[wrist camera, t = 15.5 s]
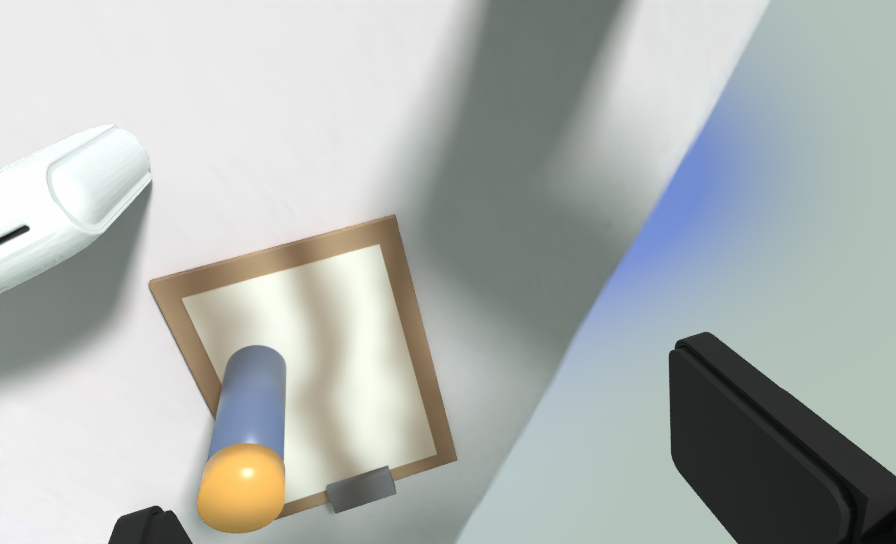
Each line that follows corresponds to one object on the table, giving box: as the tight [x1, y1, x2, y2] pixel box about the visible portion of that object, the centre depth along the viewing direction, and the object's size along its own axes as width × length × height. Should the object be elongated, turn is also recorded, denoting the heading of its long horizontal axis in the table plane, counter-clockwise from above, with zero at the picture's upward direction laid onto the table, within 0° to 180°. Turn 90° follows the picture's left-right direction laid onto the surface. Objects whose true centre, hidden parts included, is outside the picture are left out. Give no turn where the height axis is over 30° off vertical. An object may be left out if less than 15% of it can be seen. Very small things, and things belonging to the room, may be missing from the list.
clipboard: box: [148, 215, 457, 520], centre depth 41 cm, size 16×22×2 cm
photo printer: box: [0, 124, 152, 294], centre depth 27 cm, size 10×4×12 cm, turn 112°
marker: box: [197, 345, 287, 533], centre depth 34 cm, size 4×4×12 cm
